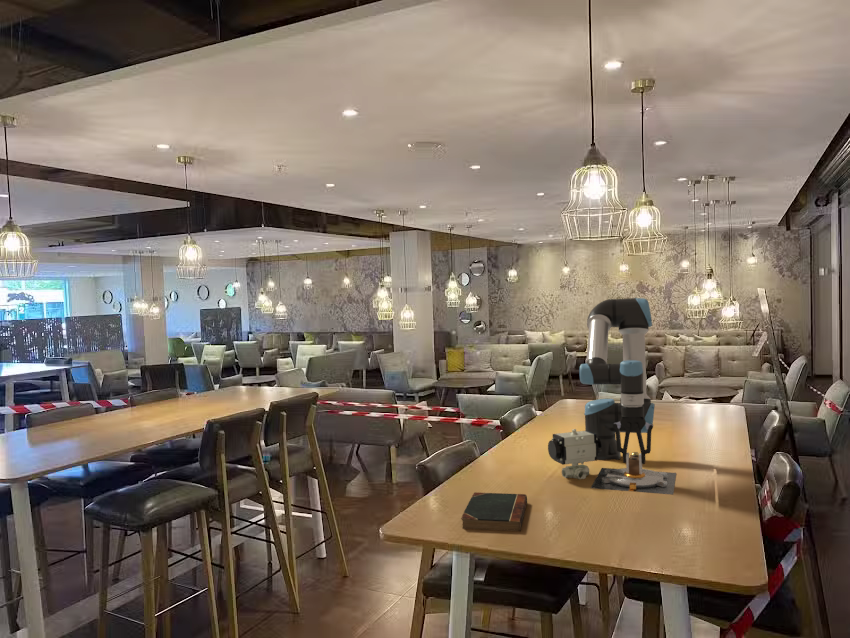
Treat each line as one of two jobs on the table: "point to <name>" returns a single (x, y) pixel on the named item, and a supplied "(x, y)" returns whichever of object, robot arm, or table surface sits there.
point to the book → (495, 511)
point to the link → (634, 464)
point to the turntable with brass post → (635, 478)
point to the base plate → (656, 489)
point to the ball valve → (574, 451)
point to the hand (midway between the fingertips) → (634, 472)
